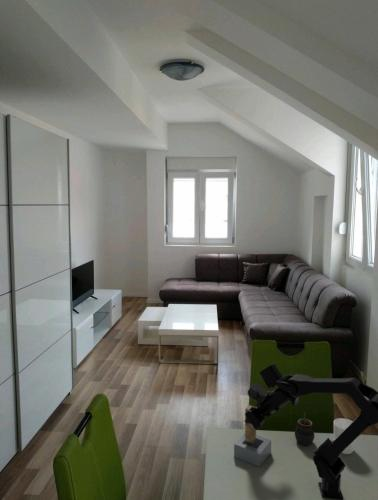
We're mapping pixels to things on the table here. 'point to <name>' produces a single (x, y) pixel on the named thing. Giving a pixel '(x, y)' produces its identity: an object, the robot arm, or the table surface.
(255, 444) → the grey square socket holder
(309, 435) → the mate gourd
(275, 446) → the table surface
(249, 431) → the tall wooden pillar block
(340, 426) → the white cup
